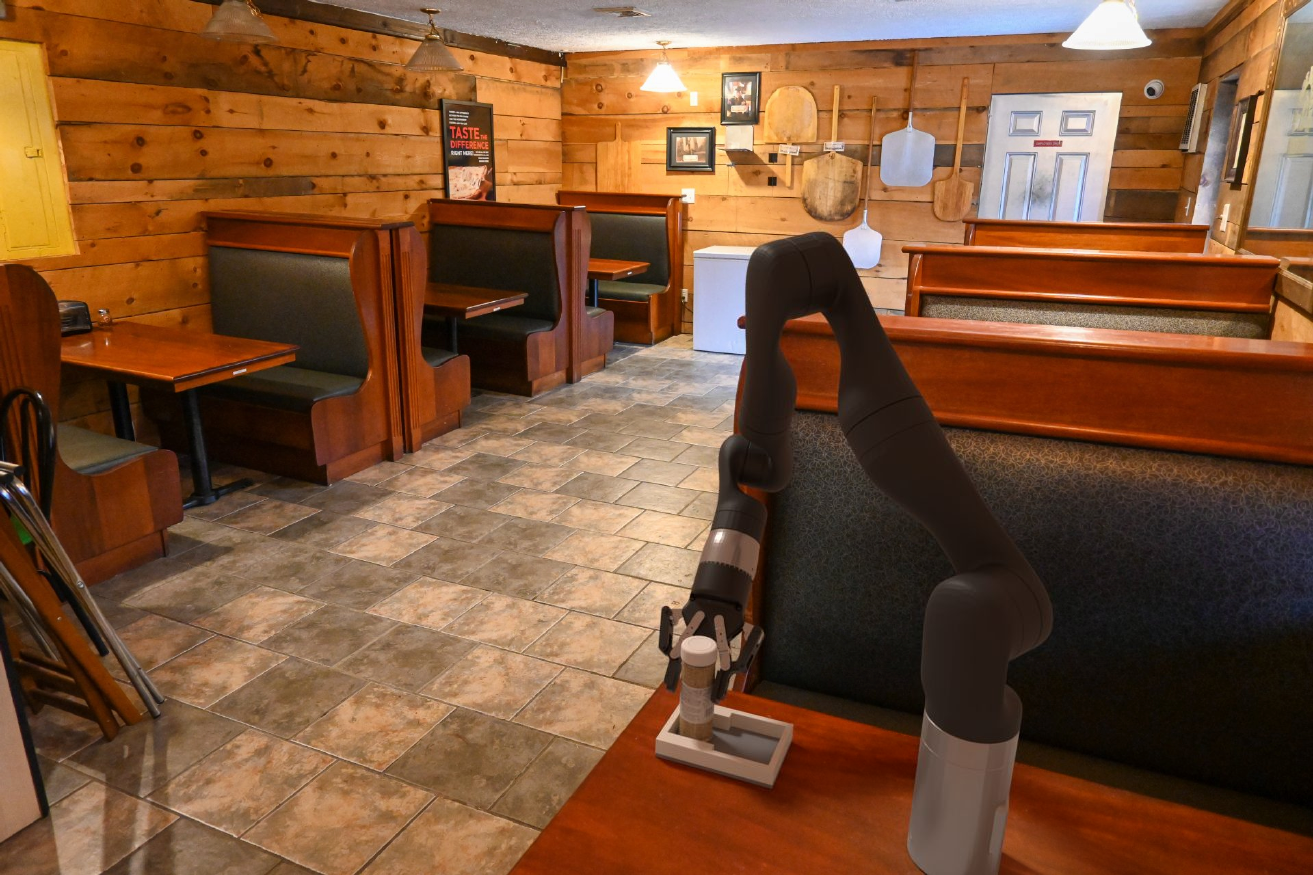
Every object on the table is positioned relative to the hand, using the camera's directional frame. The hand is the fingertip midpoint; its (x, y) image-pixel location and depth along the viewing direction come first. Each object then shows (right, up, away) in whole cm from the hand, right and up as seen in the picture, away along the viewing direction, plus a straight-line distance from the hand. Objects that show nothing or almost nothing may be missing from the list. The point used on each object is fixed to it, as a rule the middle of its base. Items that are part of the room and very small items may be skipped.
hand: (692, 696), depth 107 cm
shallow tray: (+4, -7, +2) cm, 9 cm away
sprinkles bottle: (+1, -6, +4) cm, 8 cm away
